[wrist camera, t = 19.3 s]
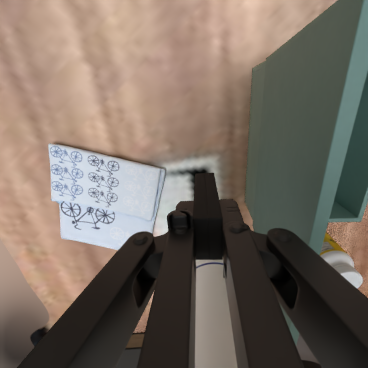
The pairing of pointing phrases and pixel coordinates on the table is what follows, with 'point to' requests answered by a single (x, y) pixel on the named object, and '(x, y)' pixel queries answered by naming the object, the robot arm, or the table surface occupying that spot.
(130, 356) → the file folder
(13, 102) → the table surface
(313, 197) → the lid
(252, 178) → the chest
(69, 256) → the table surface
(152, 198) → the folded bicycle print towel
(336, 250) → the supplement bottle
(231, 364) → the cylindrical container
